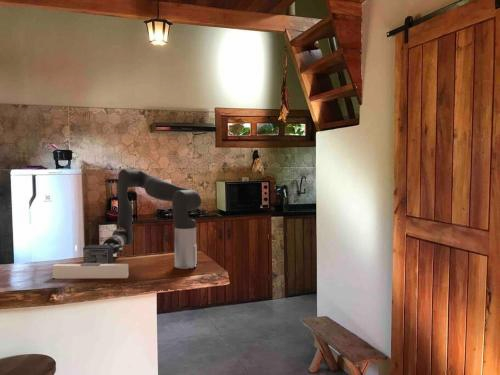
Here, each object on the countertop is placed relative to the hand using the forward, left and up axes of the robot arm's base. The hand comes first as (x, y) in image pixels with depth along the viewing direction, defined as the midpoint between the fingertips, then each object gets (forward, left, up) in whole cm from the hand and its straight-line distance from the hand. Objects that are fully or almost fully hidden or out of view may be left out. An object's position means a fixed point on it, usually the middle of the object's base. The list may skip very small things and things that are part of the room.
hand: (102, 253), depth 167 cm
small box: (0, +6, -6) cm, 8 cm away
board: (0, +15, -6) cm, 16 cm away
